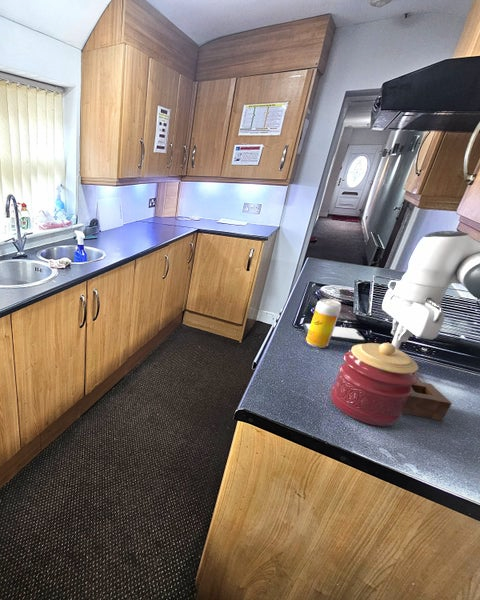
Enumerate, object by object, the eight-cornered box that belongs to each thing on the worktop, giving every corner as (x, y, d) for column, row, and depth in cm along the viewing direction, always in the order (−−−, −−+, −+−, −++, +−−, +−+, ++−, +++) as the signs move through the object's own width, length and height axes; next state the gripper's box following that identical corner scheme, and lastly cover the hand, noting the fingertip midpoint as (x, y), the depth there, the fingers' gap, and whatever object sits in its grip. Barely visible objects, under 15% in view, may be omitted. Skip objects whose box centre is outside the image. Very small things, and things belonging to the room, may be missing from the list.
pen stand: (422, 400, 81) (431, 383, 79) (442, 420, 75) (452, 403, 73) (385, 393, 83) (392, 377, 82) (401, 412, 77) (409, 395, 75)
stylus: (392, 357, 95) (409, 313, 90) (395, 360, 93) (413, 316, 88) (384, 356, 95) (401, 312, 90) (388, 359, 94) (405, 315, 89)
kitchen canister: (326, 383, 86) (348, 324, 79) (390, 400, 80) (419, 338, 73) (331, 414, 76) (356, 350, 69) (405, 436, 70) (441, 368, 63)
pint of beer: (305, 337, 110) (318, 296, 104) (327, 342, 107) (342, 300, 101) (304, 345, 106) (318, 303, 100) (327, 350, 103) (342, 307, 97)
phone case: (308, 338, 111) (365, 345, 106) (309, 333, 110) (367, 340, 105) (301, 326, 119) (354, 332, 114) (302, 322, 118) (356, 328, 113)
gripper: (461, 309, 76) (435, 359, 82) (413, 282, 94) (393, 324, 100) (428, 304, 78) (404, 354, 84) (386, 279, 96) (368, 321, 102)
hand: (398, 338), depth 92 cm, fingers closed on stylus, 2 cm apart
